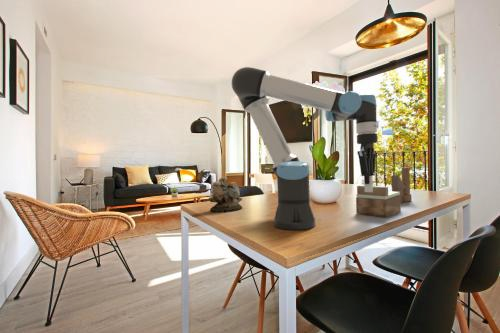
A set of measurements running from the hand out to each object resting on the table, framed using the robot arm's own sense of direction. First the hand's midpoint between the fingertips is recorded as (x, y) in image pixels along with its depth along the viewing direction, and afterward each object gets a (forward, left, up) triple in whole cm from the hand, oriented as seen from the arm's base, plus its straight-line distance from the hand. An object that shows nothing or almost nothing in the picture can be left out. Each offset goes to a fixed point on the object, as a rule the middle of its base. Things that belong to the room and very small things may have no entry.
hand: (368, 191), depth 103 cm
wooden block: (-1, +45, -10) cm, 46 cm away
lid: (0, +10, -3) cm, 11 cm away
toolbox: (0, +10, -10) cm, 15 cm away
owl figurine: (-60, -28, -10) cm, 67 cm away
